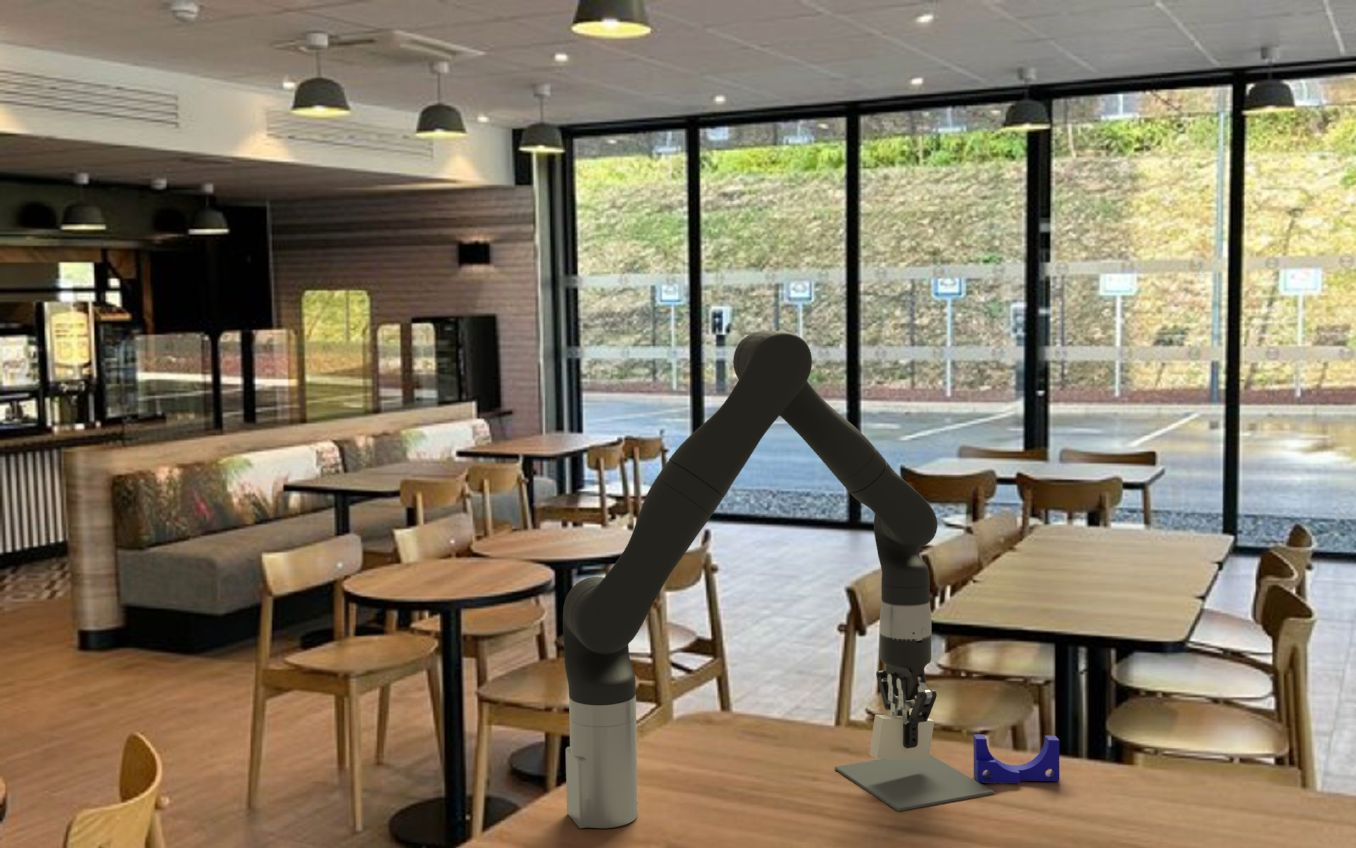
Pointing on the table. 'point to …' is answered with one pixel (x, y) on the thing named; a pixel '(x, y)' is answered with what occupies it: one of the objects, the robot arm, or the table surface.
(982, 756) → the blue u-shaped bracket
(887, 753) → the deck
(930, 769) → the mat
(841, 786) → the table surface
